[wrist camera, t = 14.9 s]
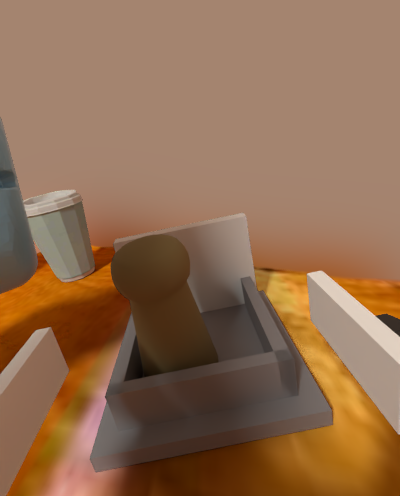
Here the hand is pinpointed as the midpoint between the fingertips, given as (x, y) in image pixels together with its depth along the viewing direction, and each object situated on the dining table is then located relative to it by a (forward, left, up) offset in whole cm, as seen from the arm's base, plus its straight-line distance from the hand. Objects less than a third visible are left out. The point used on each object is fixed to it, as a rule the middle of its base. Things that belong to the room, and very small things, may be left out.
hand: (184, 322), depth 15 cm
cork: (-4, +5, -8) cm, 10 cm away
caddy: (-3, +7, -9) cm, 12 cm away
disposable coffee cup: (-36, +25, -10) cm, 45 cm away
